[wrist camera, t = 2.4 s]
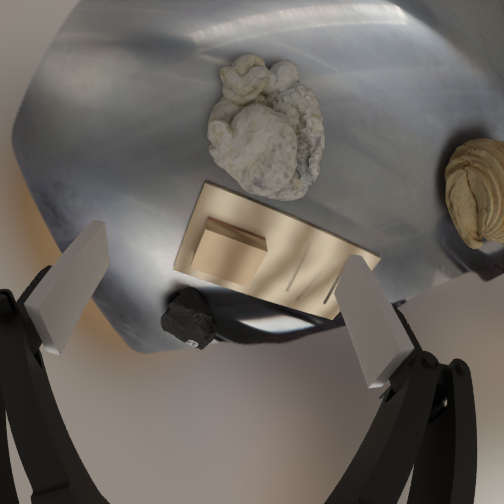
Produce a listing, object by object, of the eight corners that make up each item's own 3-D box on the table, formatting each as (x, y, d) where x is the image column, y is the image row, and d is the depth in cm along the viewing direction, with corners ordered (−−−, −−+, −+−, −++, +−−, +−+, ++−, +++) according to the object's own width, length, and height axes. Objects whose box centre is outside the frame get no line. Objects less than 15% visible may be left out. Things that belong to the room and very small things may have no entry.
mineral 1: (235, 305, 44) (234, 332, 39) (210, 334, 48) (207, 360, 43) (178, 278, 41) (171, 304, 36) (159, 312, 45) (151, 337, 40)
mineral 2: (314, 44, 22) (280, 28, 15) (345, 188, 30) (326, 229, 23) (219, 71, 28) (163, 76, 21) (255, 193, 37) (214, 229, 30)
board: (174, 266, 40) (172, 269, 39) (205, 180, 33) (204, 182, 32) (331, 316, 46) (332, 319, 46) (379, 255, 40) (380, 258, 39)
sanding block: (193, 252, 37) (190, 267, 34) (208, 216, 35) (205, 229, 32) (247, 271, 39) (247, 287, 36) (265, 237, 36) (267, 252, 34)
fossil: (414, 205, 35) (474, 263, 23) (457, 108, 26) (534, 134, 14) (464, 236, 38) (513, 287, 26) (502, 156, 30) (562, 191, 17)
